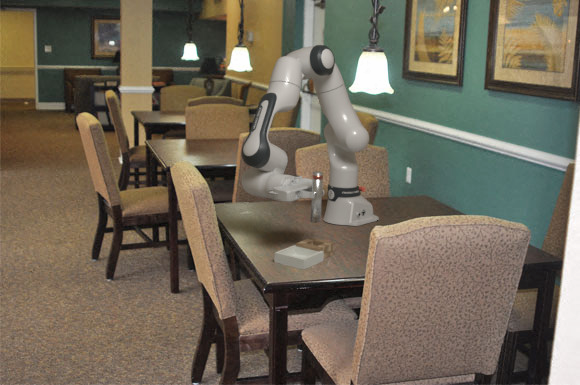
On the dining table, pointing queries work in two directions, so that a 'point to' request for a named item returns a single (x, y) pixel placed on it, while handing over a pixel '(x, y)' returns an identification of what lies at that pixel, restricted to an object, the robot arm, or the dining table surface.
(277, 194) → the robot arm
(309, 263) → the tray
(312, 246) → the wooden square frame
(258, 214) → the dining table surface
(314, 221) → the cylinder
